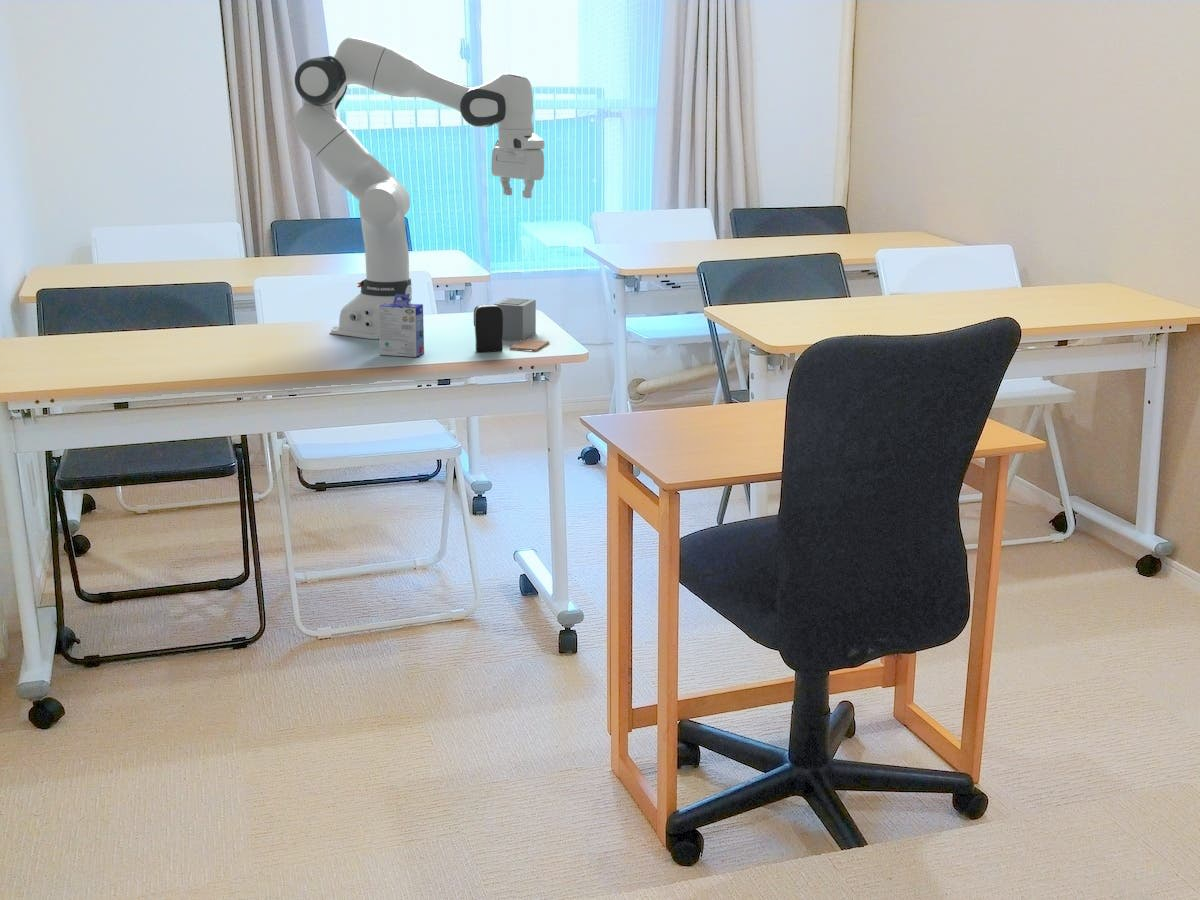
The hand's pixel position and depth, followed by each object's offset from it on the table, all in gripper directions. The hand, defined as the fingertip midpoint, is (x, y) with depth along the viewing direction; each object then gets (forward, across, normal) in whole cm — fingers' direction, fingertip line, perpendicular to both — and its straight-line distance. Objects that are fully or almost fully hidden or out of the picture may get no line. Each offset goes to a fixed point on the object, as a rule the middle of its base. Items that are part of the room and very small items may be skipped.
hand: (517, 196), depth 302 cm
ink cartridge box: (+35, +6, -37) cm, 52 cm away
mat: (+36, +15, -6) cm, 39 cm away
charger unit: (+36, +2, -3) cm, 36 cm away
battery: (+36, +14, -18) cm, 42 cm away
